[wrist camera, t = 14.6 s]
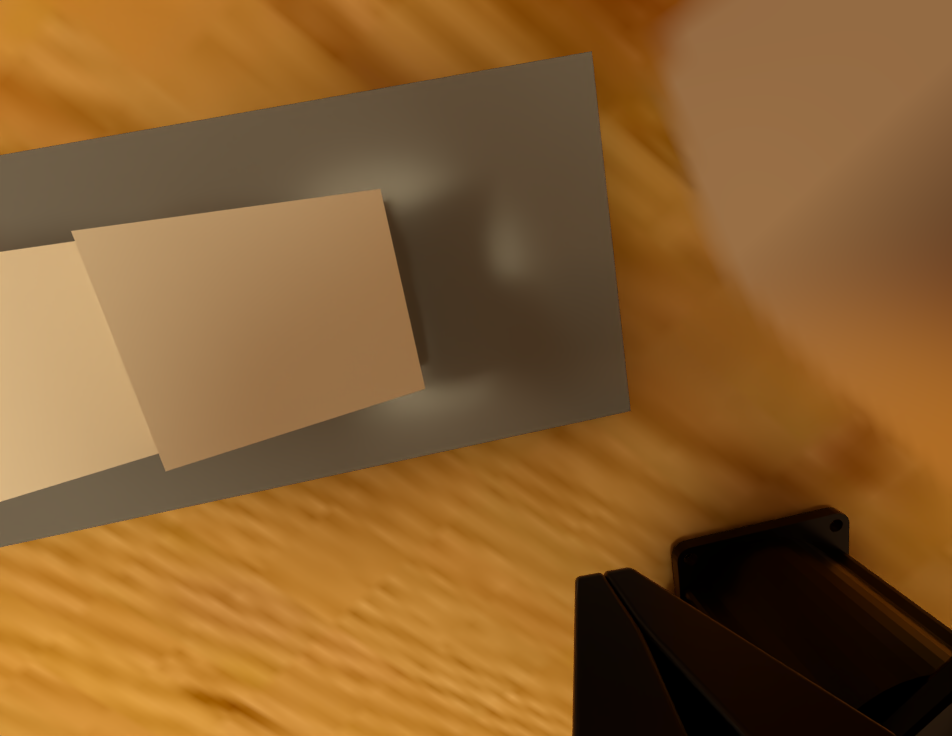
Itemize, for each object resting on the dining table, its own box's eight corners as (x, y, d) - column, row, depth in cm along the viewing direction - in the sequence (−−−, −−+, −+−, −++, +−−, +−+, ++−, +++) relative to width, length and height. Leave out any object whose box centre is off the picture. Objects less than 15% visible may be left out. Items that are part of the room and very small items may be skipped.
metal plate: (579, 65, 13) (591, 51, 12) (618, 401, 16) (630, 411, 15) (-647, 282, 12) (-743, 285, 11) (-382, 615, 14) (-440, 642, 13)
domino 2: (380, 188, 11) (71, 230, 9) (425, 388, 13) (165, 471, 10) (364, 199, 13) (94, 238, 10) (406, 377, 14) (174, 448, 12)
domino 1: (185, 225, 11) (-186, 278, 9) (251, 424, 12) (-55, 518, 10) (191, 231, 12) (-126, 279, 10) (250, 410, 14) (-19, 489, 11)
